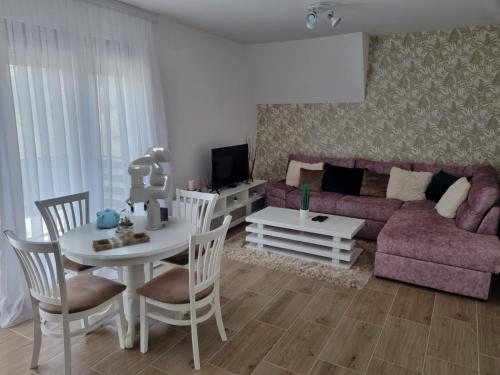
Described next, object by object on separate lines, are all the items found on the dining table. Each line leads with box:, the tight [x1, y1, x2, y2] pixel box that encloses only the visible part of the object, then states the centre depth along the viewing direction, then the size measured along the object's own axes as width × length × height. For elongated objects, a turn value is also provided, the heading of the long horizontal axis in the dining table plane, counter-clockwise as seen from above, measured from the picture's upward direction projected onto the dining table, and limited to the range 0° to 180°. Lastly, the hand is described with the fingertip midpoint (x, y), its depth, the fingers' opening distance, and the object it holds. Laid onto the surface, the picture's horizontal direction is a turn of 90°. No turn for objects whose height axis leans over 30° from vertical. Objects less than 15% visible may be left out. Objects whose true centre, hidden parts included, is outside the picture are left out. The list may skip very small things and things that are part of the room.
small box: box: [160, 206, 169, 222], centre depth 282 cm, size 11×6×10 cm, turn 71°
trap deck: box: [92, 231, 151, 252], centre depth 232 cm, size 33×13×3 cm, turn 122°
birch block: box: [122, 228, 134, 240], centre depth 234 cm, size 5×6×5 cm
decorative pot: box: [96, 208, 121, 229], centre depth 268 cm, size 16×16×14 cm
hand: (139, 211), depth 235 cm, fingers open, 7 cm apart
